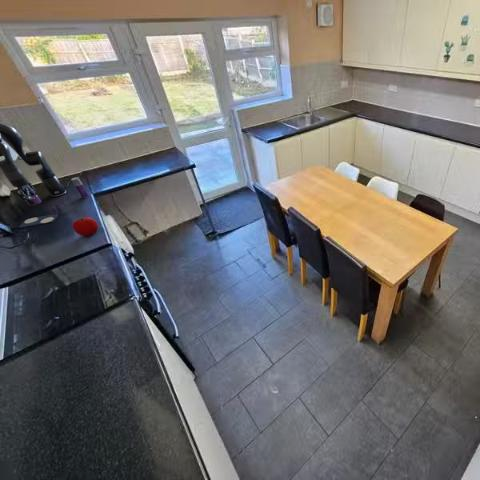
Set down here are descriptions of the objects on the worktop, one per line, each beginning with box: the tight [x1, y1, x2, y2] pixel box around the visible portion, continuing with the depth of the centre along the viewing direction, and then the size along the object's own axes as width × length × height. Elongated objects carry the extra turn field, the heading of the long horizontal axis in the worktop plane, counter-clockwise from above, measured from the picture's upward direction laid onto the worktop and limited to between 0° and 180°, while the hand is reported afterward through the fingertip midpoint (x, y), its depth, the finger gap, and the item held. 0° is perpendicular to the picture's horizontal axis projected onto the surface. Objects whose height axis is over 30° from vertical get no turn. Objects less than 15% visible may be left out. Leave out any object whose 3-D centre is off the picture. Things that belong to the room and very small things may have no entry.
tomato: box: [72, 216, 99, 237], centre depth 165 cm, size 12×12×11 cm
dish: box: [26, 194, 42, 206], centre depth 172 cm, size 6×6×4 cm
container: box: [70, 176, 90, 199], centre depth 203 cm, size 5×5×15 cm
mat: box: [17, 213, 60, 229], centre depth 181 cm, size 11×19×1 cm, turn 112°
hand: (34, 201), depth 173 cm, fingers closed on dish, 6 cm apart
